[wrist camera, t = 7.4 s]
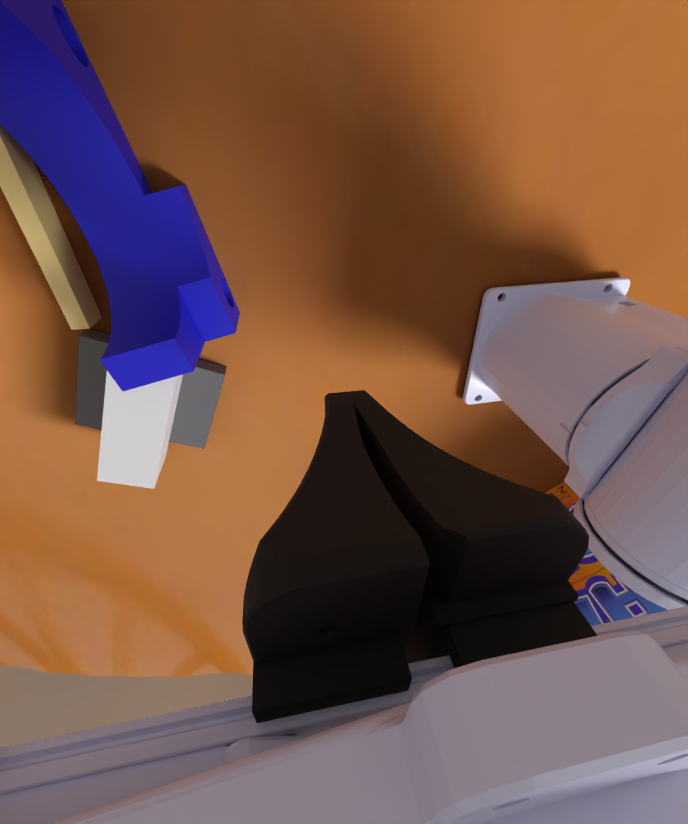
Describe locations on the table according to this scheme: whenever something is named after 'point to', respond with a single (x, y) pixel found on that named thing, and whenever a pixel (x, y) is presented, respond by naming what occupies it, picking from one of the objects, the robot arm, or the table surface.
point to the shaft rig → (96, 389)
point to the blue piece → (112, 200)
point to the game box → (601, 582)
